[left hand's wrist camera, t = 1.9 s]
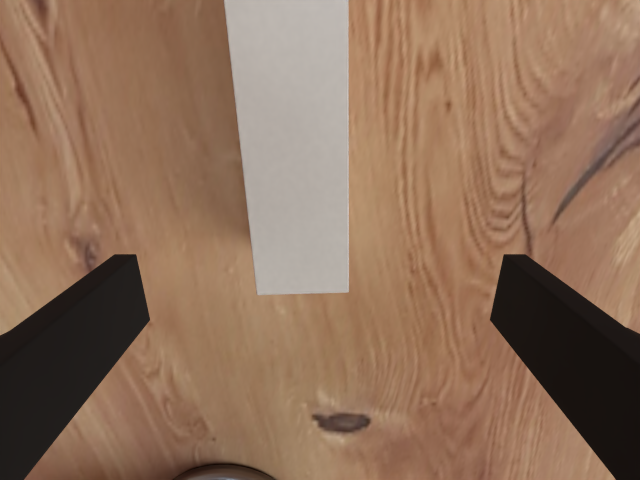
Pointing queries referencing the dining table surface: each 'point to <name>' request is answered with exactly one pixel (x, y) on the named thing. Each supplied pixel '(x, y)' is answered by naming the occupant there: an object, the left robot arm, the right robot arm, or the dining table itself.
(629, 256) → the dining table surface
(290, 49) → the bar
